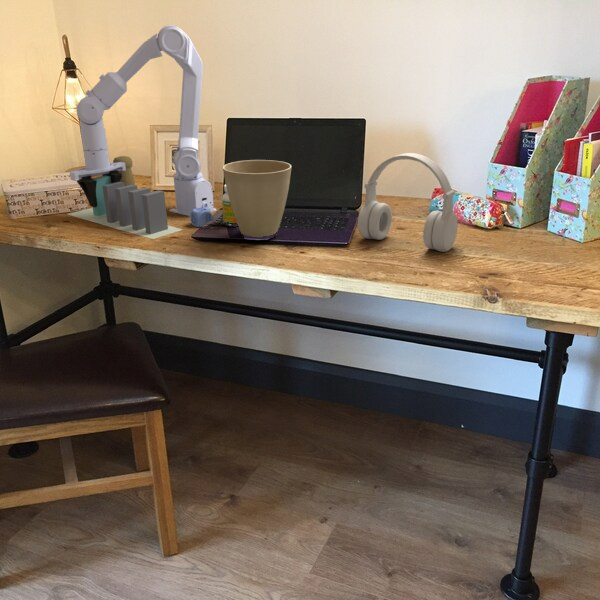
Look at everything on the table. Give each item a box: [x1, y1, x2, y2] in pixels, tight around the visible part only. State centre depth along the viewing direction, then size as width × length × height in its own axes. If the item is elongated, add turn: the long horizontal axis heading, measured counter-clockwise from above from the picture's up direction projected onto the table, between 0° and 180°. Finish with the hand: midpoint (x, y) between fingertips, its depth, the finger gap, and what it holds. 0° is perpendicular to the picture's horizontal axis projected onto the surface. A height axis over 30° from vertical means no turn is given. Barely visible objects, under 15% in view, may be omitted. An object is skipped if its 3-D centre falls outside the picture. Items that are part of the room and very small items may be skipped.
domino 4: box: [128, 186, 152, 231], centre depth 155 cm, size 2×5×9 cm, turn 140°
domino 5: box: [142, 189, 169, 234], centre depth 152 cm, size 2×5×9 cm, turn 140°
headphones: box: [357, 152, 459, 253], centre depth 139 cm, size 20×8×19 cm, turn 56°
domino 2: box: [103, 182, 125, 223], centre depth 161 cm, size 2×5×9 cm, turn 140°
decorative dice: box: [189, 208, 214, 228], centre depth 157 cm, size 4×4×4 cm
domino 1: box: [92, 175, 111, 216], centre depth 164 cm, size 2×5×9 cm, turn 140°
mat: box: [66, 207, 184, 240], centre depth 161 cm, size 34×9×1 cm, turn 50°
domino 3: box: [115, 184, 138, 227], centre depth 158 cm, size 2×5×9 cm, turn 140°
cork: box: [112, 155, 136, 186], centre depth 184 cm, size 6×6×11 cm
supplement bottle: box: [221, 183, 237, 223], centre depth 156 cm, size 5×5×10 cm
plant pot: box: [222, 159, 292, 237], centre depth 146 cm, size 15×15×16 cm
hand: (103, 204), depth 164 cm, fingers closed on domino 1, 5 cm apart
